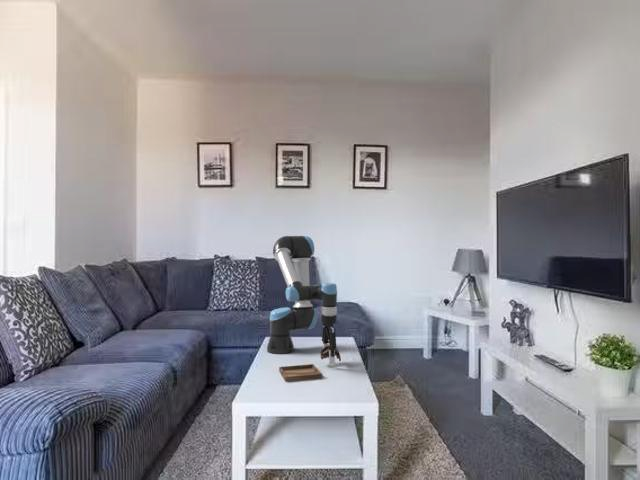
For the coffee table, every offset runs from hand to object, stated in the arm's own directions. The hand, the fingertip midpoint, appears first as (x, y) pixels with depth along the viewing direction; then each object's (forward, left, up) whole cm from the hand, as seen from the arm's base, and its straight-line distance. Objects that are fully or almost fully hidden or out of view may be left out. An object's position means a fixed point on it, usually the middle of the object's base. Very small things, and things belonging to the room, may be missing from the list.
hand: (328, 359), depth 206 cm
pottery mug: (-1, +1, -1) cm, 2 cm away
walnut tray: (+10, -17, -3) cm, 20 cm away
